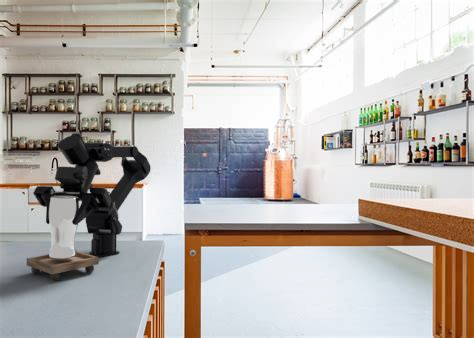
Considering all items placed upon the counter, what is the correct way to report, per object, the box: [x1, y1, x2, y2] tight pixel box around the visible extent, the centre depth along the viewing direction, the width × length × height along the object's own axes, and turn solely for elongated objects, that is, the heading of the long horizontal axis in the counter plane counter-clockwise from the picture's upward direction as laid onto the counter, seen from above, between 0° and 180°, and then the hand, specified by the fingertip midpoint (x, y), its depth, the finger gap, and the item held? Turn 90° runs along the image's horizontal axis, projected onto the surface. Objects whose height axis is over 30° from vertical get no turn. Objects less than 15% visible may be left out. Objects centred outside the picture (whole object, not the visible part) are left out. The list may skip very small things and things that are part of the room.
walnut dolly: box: [26, 250, 99, 282], centre depth 99 cm, size 12×12×4 cm
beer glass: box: [48, 196, 80, 260], centre depth 99 cm, size 7×7×15 cm
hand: (61, 223), depth 97 cm, fingers closed on beer glass, 7 cm apart
